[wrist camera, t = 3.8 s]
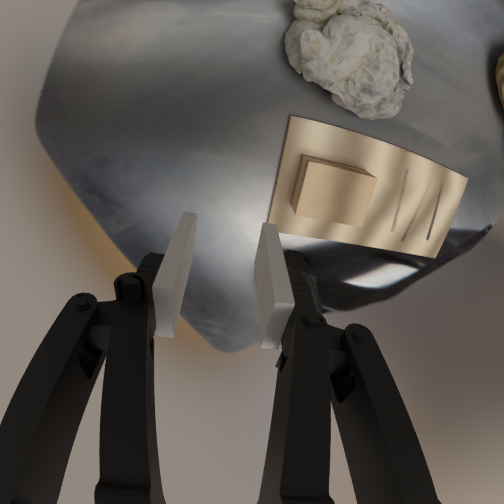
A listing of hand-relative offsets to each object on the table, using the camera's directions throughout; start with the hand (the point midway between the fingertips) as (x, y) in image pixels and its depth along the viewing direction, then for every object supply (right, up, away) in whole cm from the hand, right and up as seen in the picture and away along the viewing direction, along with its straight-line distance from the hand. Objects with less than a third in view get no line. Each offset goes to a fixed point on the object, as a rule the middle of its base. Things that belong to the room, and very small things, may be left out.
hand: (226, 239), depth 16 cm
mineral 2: (+10, +21, +7) cm, 25 cm away
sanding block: (+10, +7, +15) cm, 19 cm away
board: (+18, +6, +16) cm, 25 cm away
